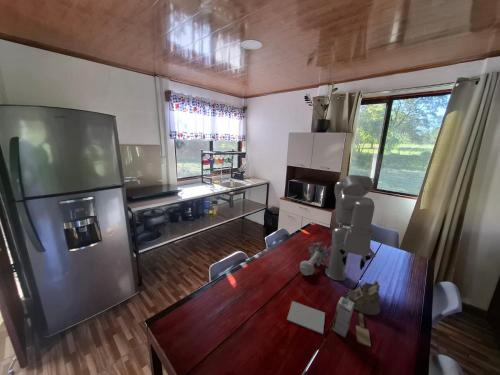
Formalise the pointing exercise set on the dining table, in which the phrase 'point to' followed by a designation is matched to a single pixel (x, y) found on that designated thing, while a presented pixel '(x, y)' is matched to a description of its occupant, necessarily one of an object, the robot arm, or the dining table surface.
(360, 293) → the ceramic cottage
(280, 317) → the dining table surface
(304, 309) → the mat
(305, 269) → the flower vase
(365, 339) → the turner
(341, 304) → the syrup box
